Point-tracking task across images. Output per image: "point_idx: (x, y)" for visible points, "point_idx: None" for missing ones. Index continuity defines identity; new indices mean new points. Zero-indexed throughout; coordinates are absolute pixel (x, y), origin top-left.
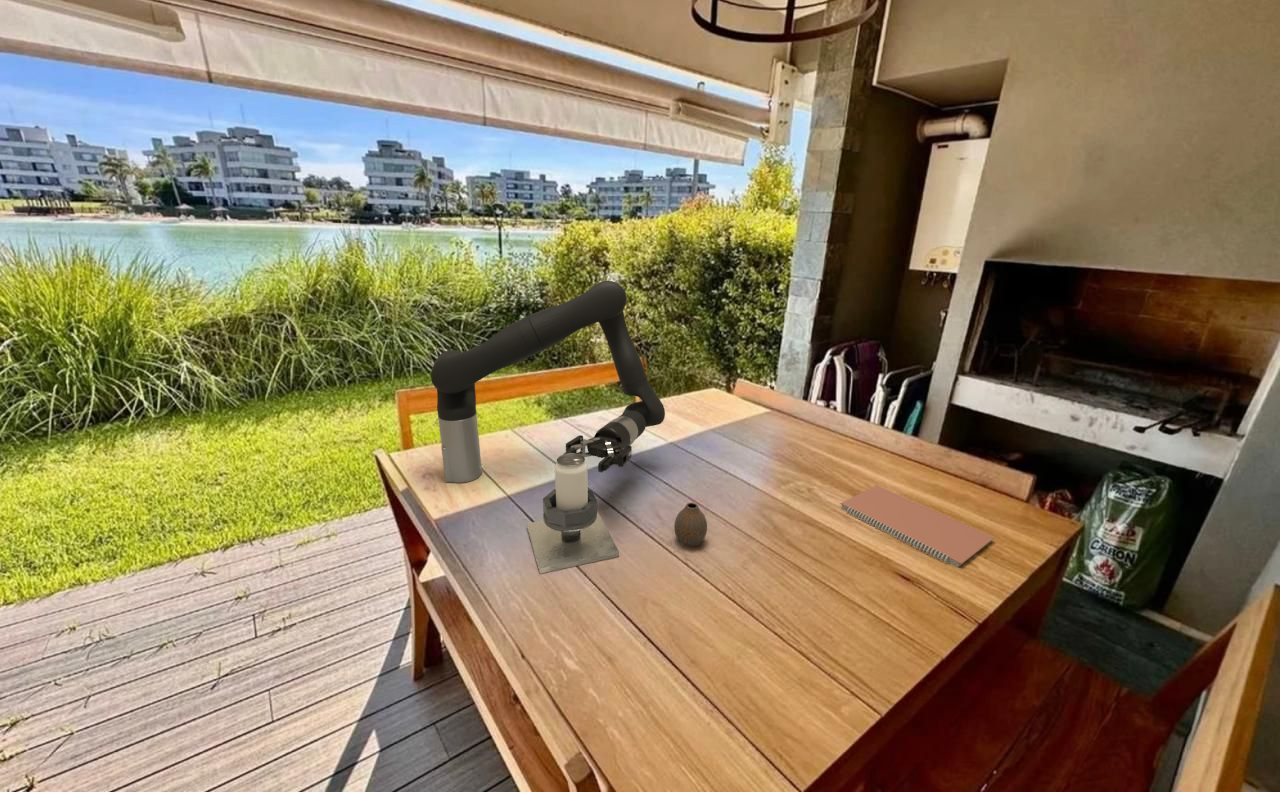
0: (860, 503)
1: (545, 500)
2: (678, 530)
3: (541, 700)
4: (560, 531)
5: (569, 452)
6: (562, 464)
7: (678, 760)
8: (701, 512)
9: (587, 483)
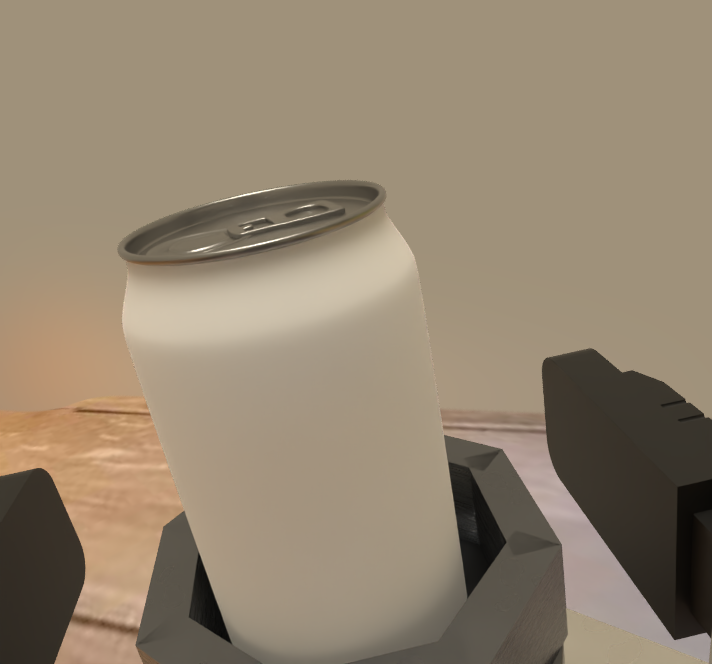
0: None
1: (469, 449)
2: None
3: (130, 403)
4: None
5: (592, 391)
6: (287, 205)
7: None
8: None
9: (179, 492)
